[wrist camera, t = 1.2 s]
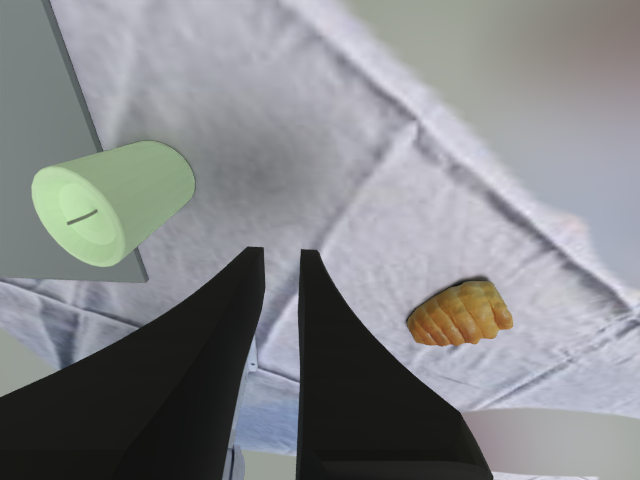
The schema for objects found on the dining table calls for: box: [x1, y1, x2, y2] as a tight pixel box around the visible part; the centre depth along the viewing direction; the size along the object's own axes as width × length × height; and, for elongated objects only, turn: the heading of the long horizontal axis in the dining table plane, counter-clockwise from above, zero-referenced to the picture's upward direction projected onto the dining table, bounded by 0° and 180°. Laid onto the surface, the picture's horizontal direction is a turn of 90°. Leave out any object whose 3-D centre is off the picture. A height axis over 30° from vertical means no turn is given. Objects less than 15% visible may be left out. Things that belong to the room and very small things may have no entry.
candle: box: [31, 141, 195, 267], centre depth 15 cm, size 5×5×8 cm
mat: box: [0, 0, 149, 283], centre depth 17 cm, size 20×13×1 cm, turn 175°
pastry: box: [407, 281, 513, 346], centre depth 25 cm, size 9×7×4 cm
